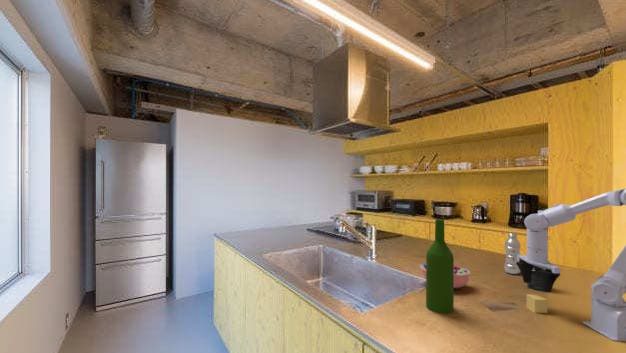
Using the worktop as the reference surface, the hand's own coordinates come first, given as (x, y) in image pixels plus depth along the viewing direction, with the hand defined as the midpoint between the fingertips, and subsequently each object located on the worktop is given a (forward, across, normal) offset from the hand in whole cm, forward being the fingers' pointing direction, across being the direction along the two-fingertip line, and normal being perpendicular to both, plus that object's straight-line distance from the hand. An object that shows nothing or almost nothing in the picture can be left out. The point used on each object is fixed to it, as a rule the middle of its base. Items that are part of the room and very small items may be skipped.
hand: (536, 286), depth 95 cm
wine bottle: (+10, +5, +33) cm, 35 cm away
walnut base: (+9, +1, +10) cm, 14 cm away
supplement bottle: (+10, +18, -18) cm, 27 cm away
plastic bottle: (+10, +37, -24) cm, 45 cm away
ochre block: (+10, 0, 0) cm, 10 cm away
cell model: (+10, +24, +20) cm, 33 cm away
